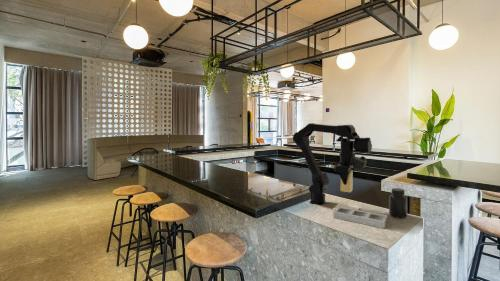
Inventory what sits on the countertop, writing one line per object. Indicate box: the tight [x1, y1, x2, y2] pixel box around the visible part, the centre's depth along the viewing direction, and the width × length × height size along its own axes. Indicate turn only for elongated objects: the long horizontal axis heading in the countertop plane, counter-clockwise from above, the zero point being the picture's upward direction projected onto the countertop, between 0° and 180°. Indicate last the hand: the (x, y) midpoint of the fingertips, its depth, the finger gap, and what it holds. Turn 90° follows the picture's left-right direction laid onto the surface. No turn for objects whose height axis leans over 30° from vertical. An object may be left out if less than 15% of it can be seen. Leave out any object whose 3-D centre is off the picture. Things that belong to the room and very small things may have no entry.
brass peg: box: [340, 170, 354, 193], centre depth 117 cm, size 4×4×10 cm
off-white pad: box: [332, 203, 360, 211], centre depth 118 cm, size 10×9×1 cm
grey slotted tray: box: [332, 207, 388, 229], centre depth 105 cm, size 20×8×2 cm, turn 54°
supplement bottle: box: [388, 187, 408, 220], centre depth 108 cm, size 7×7×12 cm
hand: (346, 183), depth 117 cm, fingers closed on brass peg, 4 cm apart
